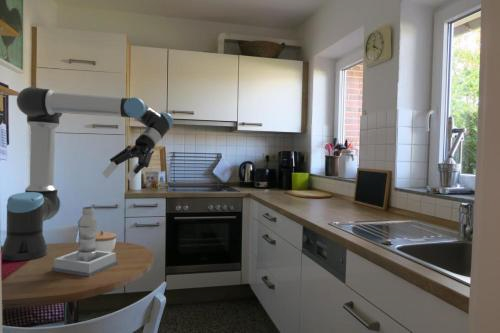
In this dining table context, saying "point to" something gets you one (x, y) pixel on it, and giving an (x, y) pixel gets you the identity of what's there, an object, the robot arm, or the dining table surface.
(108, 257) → the light grey square tray
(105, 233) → the lidded jar
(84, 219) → the plastic bottle
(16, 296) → the dining table surface
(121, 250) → the dining table surface
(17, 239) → the robot arm
